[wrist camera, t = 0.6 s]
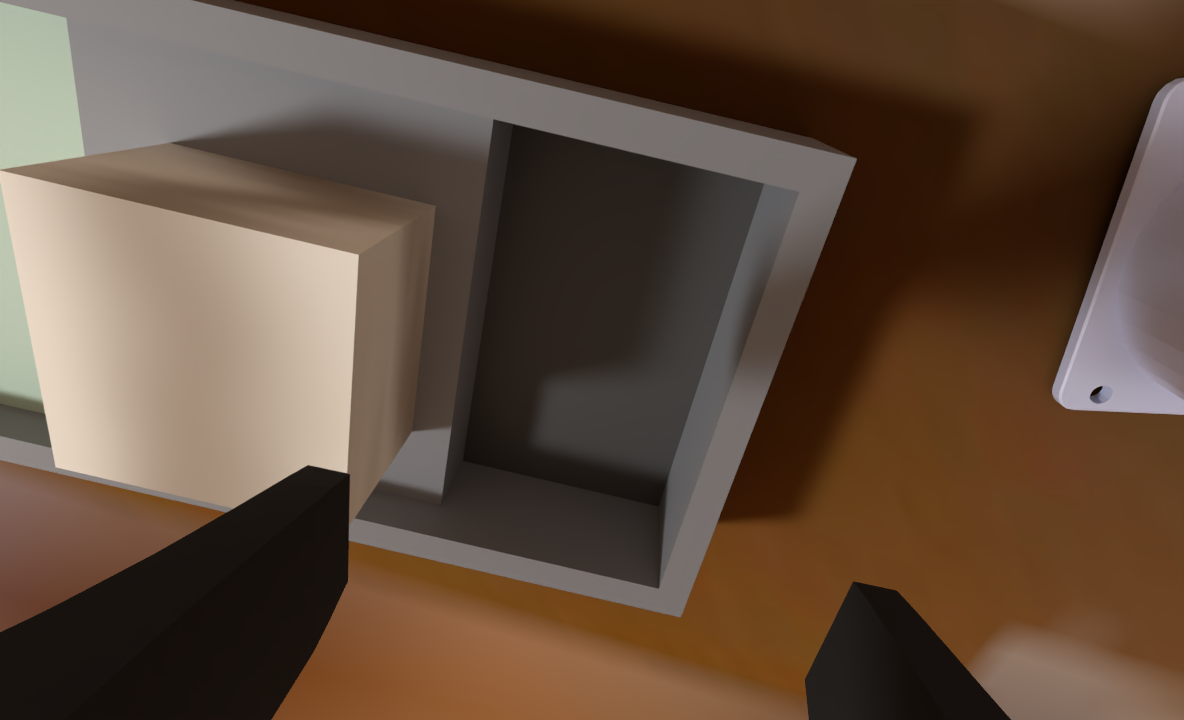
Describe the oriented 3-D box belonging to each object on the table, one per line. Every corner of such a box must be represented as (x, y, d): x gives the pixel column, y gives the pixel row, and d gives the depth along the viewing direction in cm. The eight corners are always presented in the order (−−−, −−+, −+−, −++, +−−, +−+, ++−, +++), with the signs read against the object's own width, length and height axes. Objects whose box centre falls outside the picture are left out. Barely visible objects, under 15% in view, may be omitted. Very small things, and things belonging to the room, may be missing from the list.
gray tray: (812, 137, 15) (856, 159, 12) (676, 525, 20) (680, 617, 17) (-440, -161, 15) (-761, -227, 11) (-251, 310, 20) (-434, 359, 17)
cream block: (435, 205, 14) (359, 255, 10) (412, 431, 16) (343, 533, 13) (169, 142, 14) (-3, 169, 10) (187, 379, 16) (55, 467, 13)
